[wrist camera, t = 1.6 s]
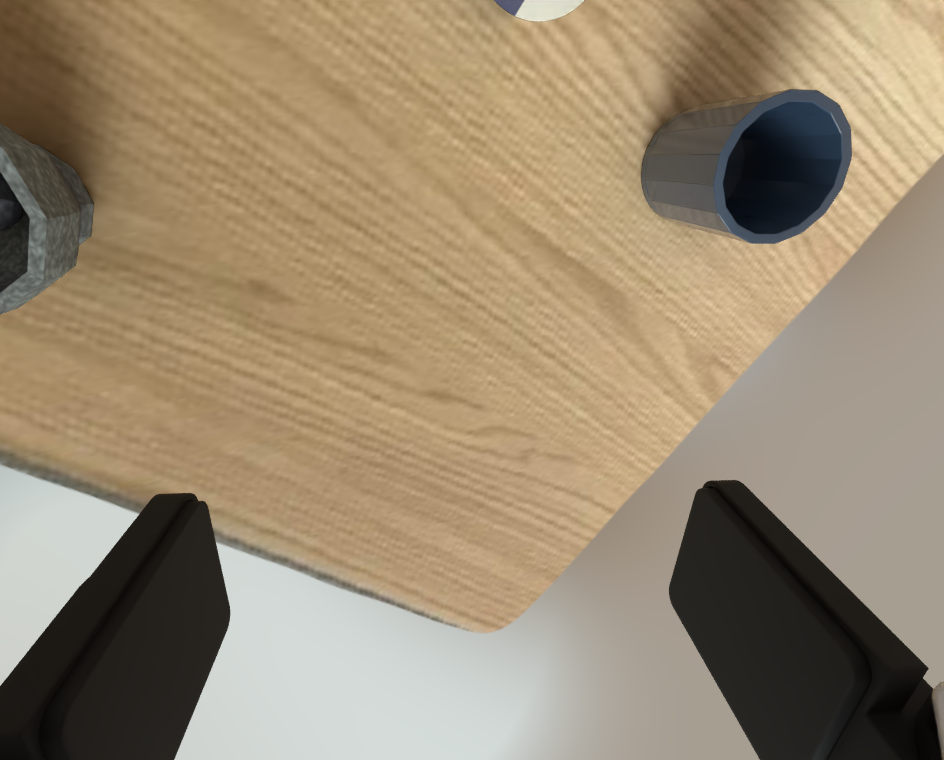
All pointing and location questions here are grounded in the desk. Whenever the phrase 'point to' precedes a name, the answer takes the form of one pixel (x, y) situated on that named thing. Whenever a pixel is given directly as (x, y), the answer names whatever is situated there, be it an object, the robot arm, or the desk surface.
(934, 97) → the desk surface
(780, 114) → the blue cup
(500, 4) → the water bottle
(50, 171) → the mortar and pestle
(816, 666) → the robot arm
